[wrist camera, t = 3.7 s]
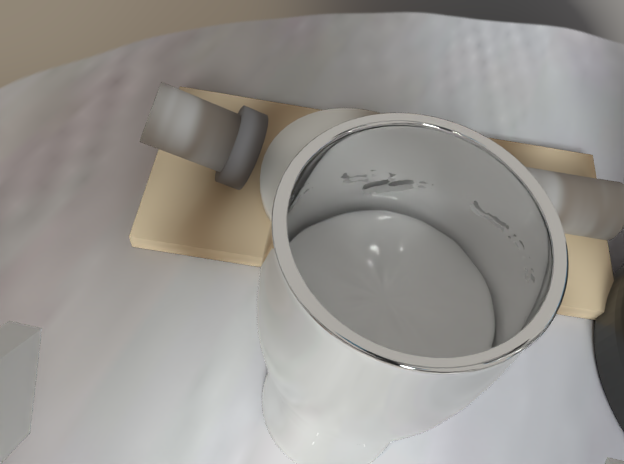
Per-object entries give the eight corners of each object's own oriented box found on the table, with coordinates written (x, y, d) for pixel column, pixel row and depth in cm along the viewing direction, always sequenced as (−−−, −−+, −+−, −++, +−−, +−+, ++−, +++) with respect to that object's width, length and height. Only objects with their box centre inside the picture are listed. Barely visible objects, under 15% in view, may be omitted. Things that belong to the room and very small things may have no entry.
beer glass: (231, 352, 26) (222, 136, 13) (371, 309, 28) (483, 82, 15) (281, 513, 23) (331, 437, 10) (434, 452, 25) (645, 322, 12)
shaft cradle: (583, 165, 34) (640, 97, 29) (608, 322, 29) (683, 271, 24) (174, 97, 33) (163, 16, 28) (124, 245, 28) (99, 176, 23)
